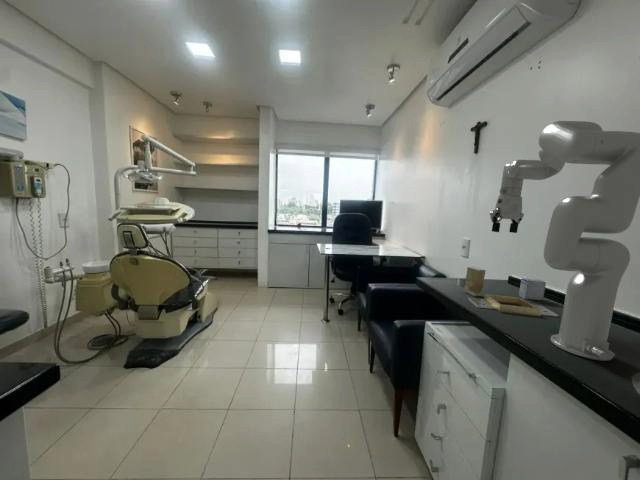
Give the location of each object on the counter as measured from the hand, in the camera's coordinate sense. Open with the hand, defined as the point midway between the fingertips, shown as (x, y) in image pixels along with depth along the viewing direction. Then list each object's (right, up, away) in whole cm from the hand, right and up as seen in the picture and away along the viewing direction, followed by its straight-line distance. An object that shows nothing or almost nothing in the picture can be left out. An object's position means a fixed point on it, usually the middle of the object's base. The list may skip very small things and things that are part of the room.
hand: (504, 232), depth 117 cm
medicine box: (+15, -30, +5) cm, 34 cm away
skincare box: (-11, -29, +6) cm, 31 cm away
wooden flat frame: (-5, -31, -10) cm, 33 cm away
